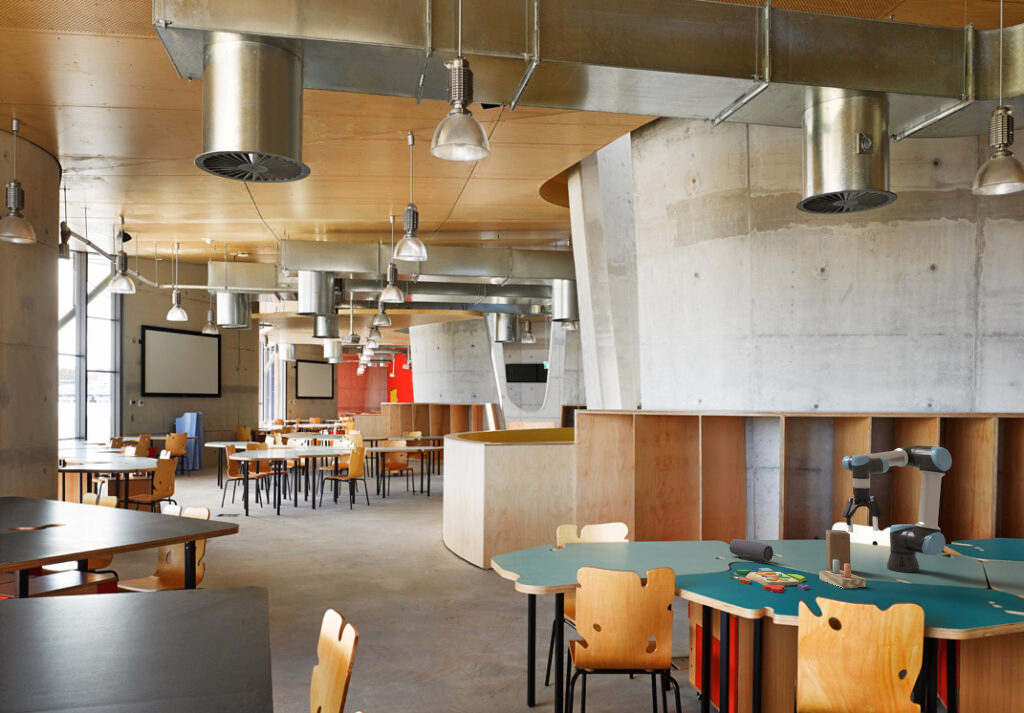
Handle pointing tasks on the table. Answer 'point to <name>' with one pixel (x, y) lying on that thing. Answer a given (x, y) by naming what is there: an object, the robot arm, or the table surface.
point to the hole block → (842, 579)
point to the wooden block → (837, 548)
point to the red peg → (847, 570)
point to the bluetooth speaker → (751, 550)
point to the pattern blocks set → (772, 579)
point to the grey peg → (836, 567)
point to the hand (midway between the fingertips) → (863, 531)
